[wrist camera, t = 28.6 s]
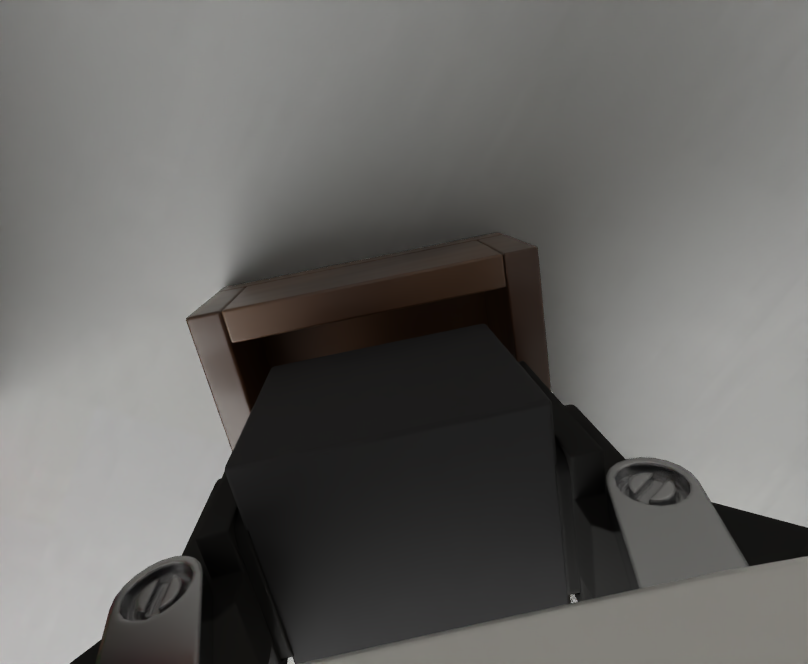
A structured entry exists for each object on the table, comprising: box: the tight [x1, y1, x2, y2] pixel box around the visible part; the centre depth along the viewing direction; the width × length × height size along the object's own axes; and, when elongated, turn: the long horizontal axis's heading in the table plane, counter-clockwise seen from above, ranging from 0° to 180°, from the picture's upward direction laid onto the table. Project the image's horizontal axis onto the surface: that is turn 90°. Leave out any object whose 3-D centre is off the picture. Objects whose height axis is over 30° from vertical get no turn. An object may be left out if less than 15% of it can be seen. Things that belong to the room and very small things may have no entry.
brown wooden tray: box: [186, 232, 571, 604], centre depth 14 cm, size 8×15×3 cm, turn 11°
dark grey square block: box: [225, 324, 570, 664], centre depth 10 cm, size 5×5×4 cm
